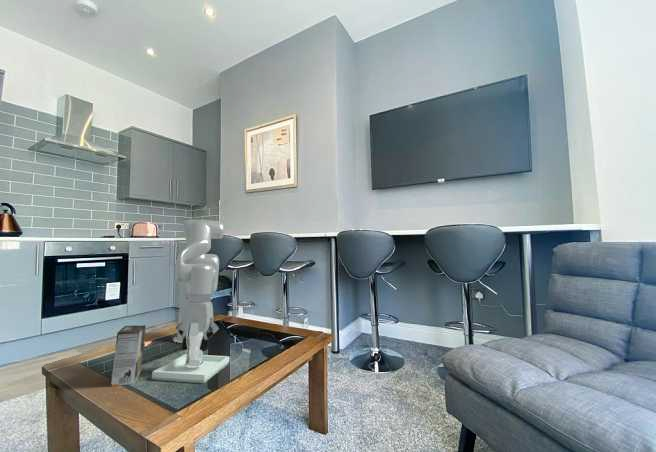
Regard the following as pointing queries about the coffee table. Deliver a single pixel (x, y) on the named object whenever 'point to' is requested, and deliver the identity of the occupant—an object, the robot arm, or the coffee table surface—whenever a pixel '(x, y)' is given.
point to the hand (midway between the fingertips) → (195, 349)
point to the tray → (191, 369)
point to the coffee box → (128, 355)
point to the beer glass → (194, 346)
